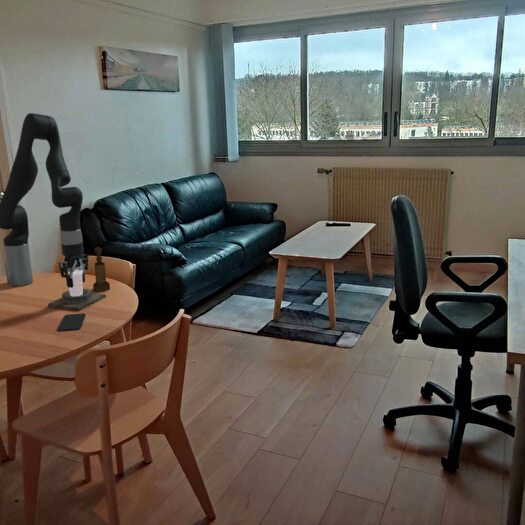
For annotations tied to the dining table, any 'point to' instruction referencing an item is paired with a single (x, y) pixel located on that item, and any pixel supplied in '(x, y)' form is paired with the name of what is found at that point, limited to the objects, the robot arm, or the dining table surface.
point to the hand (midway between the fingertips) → (76, 284)
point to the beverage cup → (76, 283)
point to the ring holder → (76, 300)
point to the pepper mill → (100, 273)
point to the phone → (71, 322)
